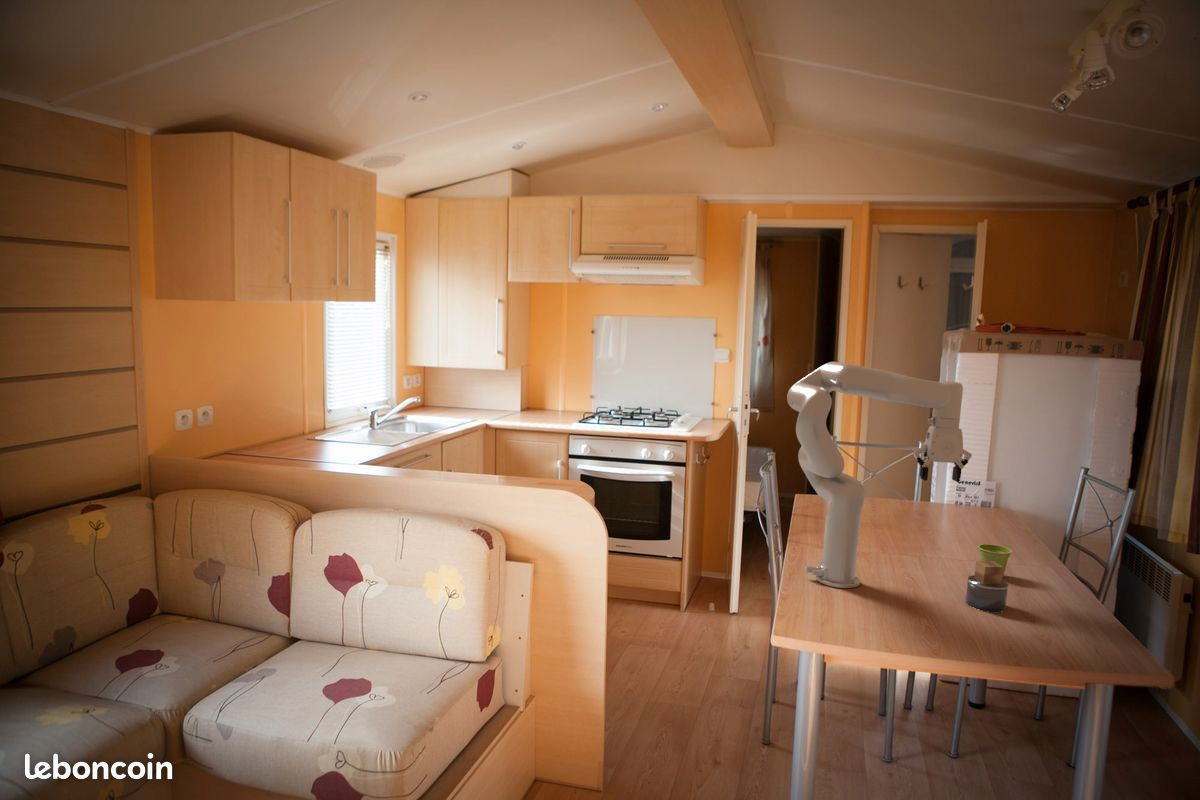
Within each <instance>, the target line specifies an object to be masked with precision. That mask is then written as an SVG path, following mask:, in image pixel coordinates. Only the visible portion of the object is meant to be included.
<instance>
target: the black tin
mask: <svg viewBox="0 0 1200 800" xmlns="http://www.w3.org/2000/svg"><path fill="white" fill-rule="evenodd" d="M974 576H975V574H974V575H969V576H967V578H966V579H967V585H966V592H965V593H966V595H965V602H966V603H967V604H968V605H969V606H968V605H967V604H966V603H965V604H966V605H967V606H968V607H970V606H971V607H970V608H972V607H974V608H976V609H975V610H977V609H980V610H979V611H981V610H983V611H982V612H986V611H989V612H988V613H994V612H998V613H1002V612H1001V611H1003V612H1005V611H1006V609H1007V607H1006V606H1007V598H1008V591H1009V590H1008V589H1009V583H1008V582H1006V581H1005V580H1003V579H1002V583H1001V585H988V584H982V583H981V582H979V581H978V580H976V579H975V578H974ZM974 608H973V609H974ZM1004 610H1005V611H1004Z"/></svg>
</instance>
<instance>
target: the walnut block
mask: <svg viewBox="0 0 1200 800" xmlns="http://www.w3.org/2000/svg"><path fill="white" fill-rule="evenodd" d="M1002 574H1003V567H1002V566H1000V565H999V564H997V563H996V562H994V561H981V560H976V561H975V569H974V575H975V576H974V578H975V579H976V580H978V581H979V582H981V583H982V584H988V585H1001V583H1002V580H1003V578H1002Z"/></svg>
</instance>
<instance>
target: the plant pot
mask: <svg viewBox="0 0 1200 800" xmlns="http://www.w3.org/2000/svg"><path fill="white" fill-rule="evenodd" d="M977 547H978V550H979V553H980V554H979V555H980V561H994V562H996V563H997V564H999V565H1000V566H1002V567H1003V574H1002V577H1003V578H1004V576H1005V572H1006V568H1007V563H1008V561H1009V558H1010V555H1011V554H1012V553H1013V550H1012V549H1011V548H1008V547H1006V546H1002V545H999V544H998V545H997V544H990V543H981V544H979V545H977Z"/></svg>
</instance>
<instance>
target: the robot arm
mask: <svg viewBox="0 0 1200 800" xmlns="http://www.w3.org/2000/svg"><path fill="white" fill-rule="evenodd" d="M963 390H964V387H963V384H962V383H960V382H958V381H948V380H941V381H933V380H929V379H927V380H926V379H924V378H917V377H913V376H908V375H904V374H901V373H897V372H894V371H889V370H884V369H877V368H872V367H868V366H862V365H858V364H852V363H851V364H850V363H847V362H846V363H845V362H839V361H829V362H827V363H824V364H823V365H821V366H819V367H817V369H814V370H813V371H812V372H810V373H809V374H807V375H805V377H803V378H801V379H800V380H798V381H797V382H796V383H793V385H791V387H790V388H789V389H788V392H787V394H786V395H787V396H786V400H787V404H788V405H789V407H790V408H791V410H792V409H793V411H796V412H798V416H797V419H796V424H795V434H796V438H797V440H798V442H799V444H800V445H801V447H800V448H799V449H798V454H797V457H798V458H797V459H798V463H799V466H800V467H801V470H802V471H803V473H804V474H805V477H806V478H807V480H808V481H809V483H810V485H811V486H812V488H813V490H815V493H816V494H817V495H818V496H819V497H820V498H822V499H823V500H824V501H827V502H829V503H830V505H829V508H828V511H827V512H826V513H827V514H826V517H825V522H824V538H823V548H822V549H823V550H822V562H818V564H817V565H815V566H812V565H805V567H804V571H805V573H809V574H811V575H813V576H814V575H815V580H816V581H817V582H819V583H821V584H823V585H825V586H829V587H831V588H832V587H833V588H839V589H853V588H854V589H855V588H857V587H859V586H861V585H860V584H861V579H860V578H859V577H858V576H856V569H857V560H858V559H857V558H858V545H859V536H860V535H859V534H860V526H861V525H860V523H861V517H862V511H863V507H864V504H865V502H866V490H865V486H864V485H863V484H862V482H861V481H860V480H859V479H857V478H856V477H854V476H852V475H850V474H847V473H844V472H843V471H844V470H845V459H844V456H843V455H842V453H841V451H840V449H839V447H837V445H836V443H835V441H834V439H833V438H832V437H831V434H830V432H829V430H828V428H827V418H828V416H829V413H830V411H831V408H832V404H833V399H832V396H831V394H830V393H832V392H836V393H841V394H847V395H852V396H858V397H863V398H870V399H874V400H878V401H879V400H880V401H883V402H884V401H885V402H891V403H892V402H893V403H903V404H909V405H915V406H920V407H925V408H931V409H932V416H931V417H930V418H928V419H927V421H926V422H927V424H930V426H929V427H928V430H927V433H926V436H925V441H924V446H922V447H919V448H917V449H915V450H913V452H912V454H913V457H914V459H915V461H916V462H917V463H918V465H919V466H920V467H919V477H920V479H921V480H922V481H928V476H929V467H928V465H930V463H932V462H933V463H949V464H950V463H951V464H953V465H954V466H953V467H952V474H951V475H952V477H951V479H952V481H955V482H956V483H959V482H960V480H961V477H962V469H964V467H965V466H966V465H967V464H968V463H969V461H970V460H971V458H972V456H973V455H972V453H971V452H969V451H967V450H965V449H964V437H963V429H962V428H960V421H961V411H962V401H963V393H964V392H963ZM922 453H923V455H922V456H923V458H921V454H922Z"/></svg>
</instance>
